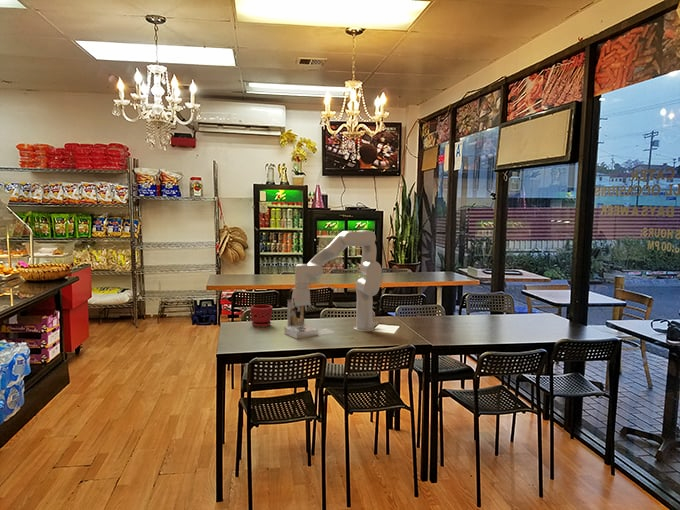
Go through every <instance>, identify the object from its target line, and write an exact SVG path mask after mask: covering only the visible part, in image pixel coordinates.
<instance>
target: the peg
mask: <svg viewBox="0 0 680 510" xmlns="http://www.w3.org/2000/svg"><path fill="white" fill-rule="evenodd" d="M299 311H300V318H298V323H303V317H304V306H300V309H299Z"/></svg>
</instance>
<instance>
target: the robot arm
mask: <svg viewBox="0 0 680 510" xmlns="http://www.w3.org/2000/svg"><path fill="white" fill-rule="evenodd" d="M376 237H377V236H376V234H375V233H374V232H373V231H372V230H366V229H358V230H357V231H353V230H343V231H341V232H339V233H338V235H336V237H334V238H333V240H332V241H331V242H330V243H329V244H328V245H327V246H326V247H325V248H323V249H322V250H320V251H318V253H316V254H314V256H313V257H312V258H311V259H310V260H309V261H308V262H307V263H297V264H296V265H295V268H294V271H295V274H294V276H295V277H294V282H295V283H294V287H293V289H292V292H291V293H292V294H291V300H292V304H291V307H292V308H294V309H295V311H296V318H300V311H299V309H300V306H304V319H305V318H307V317H306V316H307V314H306V313H307V311H308V309H309V308H310V307H312V303H311V290H310V288H309V286H311V284H310V282H309V278H319V277H322V275H323V274H324V268H323V267H322V266H324V265H325V264H326V263H327V262H329V261H333V260H334V259H337V258H338V257H339V256H340V255H341V253H342V252H344V250H345V249H347V247H361V251H362V252H361V259H360V266H359V267H360V268H359V269H360V270H359V271H360V273H361V274H363V275H365V276H362V277H360V278H358V279H357V280H356V282H355V293H356V309H355V310H356V312H355V314H356V317H355V325H354V326H353V328H352V329H353V330H354V331H357V332H364V333H368V332H369V333H370V332H373V331H374V330H375V327H374V326H378V324H379V322H378V321H373V302H374V301H373V296H376V295H377V294H378V292H379V291H380V286H381V279H382V273H383V272H382V271H383V270H382V266H381V264H380V263H379V262H378V261H377V245H376V241H377V239H376ZM294 305H295V306H294Z"/></svg>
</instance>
